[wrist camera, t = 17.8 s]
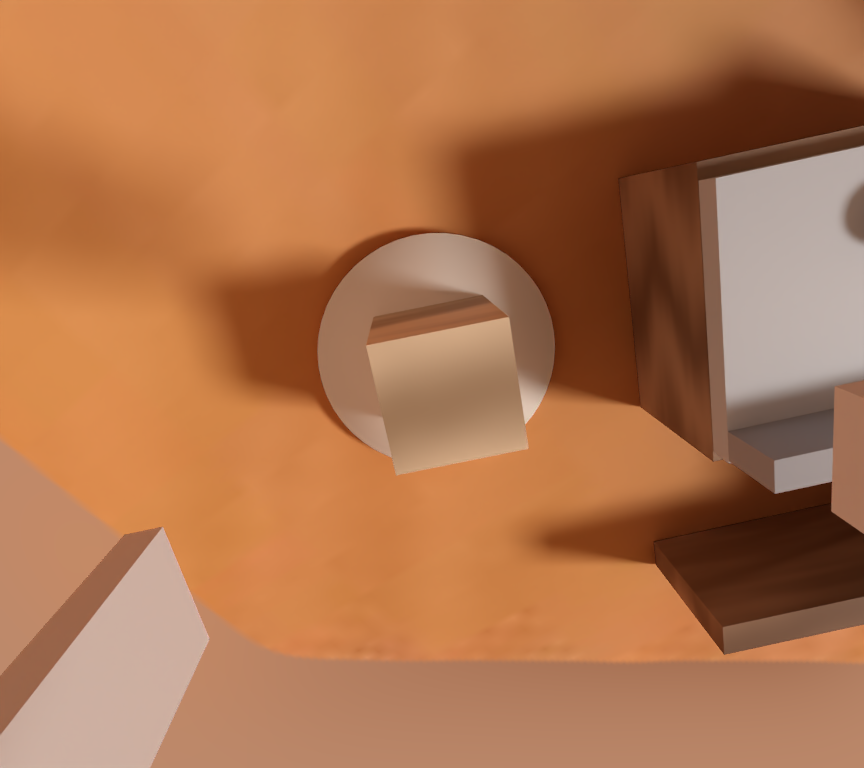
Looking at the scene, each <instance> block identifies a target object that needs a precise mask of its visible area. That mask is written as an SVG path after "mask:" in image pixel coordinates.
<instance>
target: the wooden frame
mask: <svg viewBox="0 0 864 768" xmlns="http://www.w3.org/2000/svg"><path fill="white" fill-rule="evenodd" d="M860 145H864V125H863V126H858V127H854V128H849V129H845V130H840V131H835V132H831V133H826V134H821V135H817V136H812V137H808V138H803V139H798V140H794V141H789V142H785V143H780V144H775V145H771V146H766V147H762V148H757V149H752V150H748V151H743V152H739V153H734V154H729V155H725V156H720V157H716V158H711V159H706V160H702V161H697V162H693V163H688V164H683V165H679V166H674V167H670V168H665V169H660V170H656V171H651V172H646V173H642V174H637V175H633V176H628V177H623V178H619V189H620V200H621V210H622V220H623V230H624V241H625V251H626V261H627V272H628V282H629V292H630V302H631V313H632V323H633V333H634V343H635V354H636V364H637V374H638V385H639V395H640V405H641V408H643V409H644V410H645V411H647V412H648V413H649V414H651V415H652V416H653V417H655V418H656V419H657V420H659V421H660V422H661V423H663V424H664V425H665V426H667V427H668V428H669V429H671V430H672V431H673V432H675V433H676V434H677V435H679V436H680V437H681V438H683V439H684V440H685V441H687V442H688V443H689V444H691V445H692V446H693V447H695V448H696V449H697V450H699V451H700V452H701V453H703V454H704V455H705V456H707V457H708V458H709V459H711V460H712V461H713V462H714V461H718V460H723V459H722V458H721V457H719V456H718V455H716V454H715V453H714V450H713V432H712V414H711V396H710V378H709V361H708V343H707V325H706V307H705V289H704V271H703V253H702V235H701V217H700V199H699V180H704V179H708V178H713V177H718V176H722V175H727V174H731V173H736V172H741V171H745V170H750V169H754V168H759V167H764V166H768V165H773V164H777V163H782V162H787V161H791V160H796V159H800V158H805V157H810V156H814V155H819V154H824V153H828V152H833V151H837V150H842V149H847V148H851V147H856V146H860ZM654 549H655V559H656V565H657V567H658V568H659V569H660V571H661V572H662V573H663V575H664V576H665V577H666V579H667V580H668V581H669V583H670V584H671V585H672V586H673V588H674V589H675V590H676V592H677V593H678V594H679V596H680V597H681V598H682V600H683V601H684V602H685V604H686V605H687V606H688V608H689V609H690V610H691V611H692V613H693V614H694V615H695V617H696V618H697V619H698V621H699V622H700V623H701V625H702V626H703V627H704V629H705V630H706V631H707V633H708V634H709V635H710V636H711V638H712V639H713V640H714V642H715V643H716V644H717V646H718V647H719V648H720V650H721V651H722V652H723V654H724V655H725V654H730V653H734V652H739V651H743V650H748V649H753V648H757V647H762V646H767V645H771V644H776V643H780V642H785V641H790V640H794V639H799V638H804V637H808V636H813V635H817V634H822V633H827V632H831V631H836V630H840V629H845V628H850V627H854V626H859V625H864V534H863V533H862V532H860V531H859V530H857V529H856V528H855V527H853V526H852V525H850V524H849V523H847V522H846V521H845V520H843V519H842V518H840V517H839V516H837V515H836V514H834V513H833V512H832V511H831V504H826V505H822V506H817V507H812V508H808V509H803V510H799V511H794V512H789V513H785V514H780V515H775V516H771V517H766V518H762V519H757V520H752V521H748V522H743V523H739V524H734V525H729V526H725V527H720V528H715V529H711V530H706V531H702V532H697V533H692V534H688V535H683V536H679V537H674V538H669V539H665V540H660V541H655V542H654Z"/></svg>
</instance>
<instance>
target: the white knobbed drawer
mask: <svg viewBox="0 0 864 768" xmlns="http://www.w3.org/2000/svg"><path fill="white" fill-rule="evenodd" d="M699 199H700V217H701V235H702V253H703V271H704V289H705V307H706V325H707V343H708V361H709V378H710V396H711V414H712V432H713V450H714V453H715V454H716V455H718V456H719V457H721V458H722V459H723V460H725V461H726V462H728V463H732V464H734V465H735V466H736V467H738V468H739V469H741V470H742V471H743V472H745V473H746V474H748V475H749V476H750V477H752V478H753V479H755V480H756V481H757V482H759V483H760V484H762V485H763V486H764V487H766V488H767V489H769V490H770V491H771V492H773V493H774V494H777V493H782V492H786V491H791V490H795V489H800V488H805V487H809V486H814V485H819V484H823V483H828V482H832V466H833V430H834V393H835V386H838V385H843V384H848V383H853V382H858V381H862V380H864V145H860V146H856V147H851V148H847V149H842V150H837V151H833V152H828V153H824V154H819V155H814V156H810V157H805V158H800V159H796V160H791V161H787V162H782V163H777V164H773V165H768V166H764V167H759V168H754V169H750V170H745V171H741V172H736V173H731V174H727V175H722V176H718V177H713V178H708V179H704V180H699Z"/></svg>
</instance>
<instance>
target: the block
mask: <svg viewBox="0 0 864 768" xmlns="http://www.w3.org/2000/svg"><path fill="white" fill-rule="evenodd" d="M366 348H367V352H368V357H369V361H370V365H371V369H372V374H373V378H374V382H375V387H376V391H377V395H378V400H379V404H380V408H381V413H382V417H383V421H384V425H385V430H386V434H387V438H388V443H389V447H390V451H391V456H392V460H393V464H394V469H395V473H396V475H400V474H405V473H410V472H415V471H420V470H425V469H430V468H435V467H440V466H445V465H450V464H455V463H460V462H465V461H470V460H475V459H480V458H485V457H490V456H495V455H500V454H505V453H510V452H515V451H520V450H525V449H529V448H528V441H527V434H526V427H525V421H524V414H523V407H522V400H521V394H520V387H519V380H518V374H517V367H516V360H515V353H514V347H513V340H512V333H511V326H510V320H509V316H507V315H506V314H505V313H504V312H503V311H501V310H500V309H499V308H498V307H497V306H495V305H494V304H493V303H492V302H490V301H489V300H488V299H487V298H486V297H484V296H483V295H480V296H475V297H470V298H465V299H460V300H455V301H450V302H445V303H440V304H435V305H430V306H425V307H420V308H415V309H410V310H405V311H400V312H395V313H390V314H385V315H380V316H375V317H373V321H372V325H371V328H370V332H369V336H368V340H367V343H366Z"/></svg>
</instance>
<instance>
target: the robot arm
mask: <svg viewBox="0 0 864 768" xmlns="http://www.w3.org/2000/svg"><path fill="white" fill-rule="evenodd" d="M831 511H832V512H833V513H834V514H836V515H837V516H839V517H840V518H842V519H843V520H845V521H846V522H847V523H849V524H850V525H852V526H853V527H855V528H856V529H857V530H859V531H860V532H862V533H863V534H864V380H862V381H858V382H853V383H848V384H843V385H838V386H835V393H834V430H833V466H832V503H831ZM208 641H209V636H208V634H207V632H206V629H205V627H204V624H203V622H202V620H201V617H200V615H199V612H198V610H197V608H196V605H195V603H194V600H193V598H192V596H191V593H190V591H189V588H188V586H187V584H186V581H185V579H184V576H183V574H182V572H181V569H180V567H179V564H178V562H177V560H176V557H175V555H174V552H173V550H172V548H171V545H170V543H169V540H168V538H167V536H166V533H165V531H164V529H163V527H159V528H155V529H150V530H145V531H140V532H136V533H131V534H126V535H124V536H123V537H122V538H121V539H120V540H119V542H118V543H117V544H116V545H115V546H114V547H113V548H112V550H111V551H110V552H109V553H108V554H107V555H106V556H105V557H104V559H103V560H102V561H101V562H100V563H99V564H98V565H97V567H96V568H95V569H94V570H93V571H92V572H91V573H90V575H89V576H88V577H87V578H86V579H85V580H84V581H83V582H82V584H81V585H80V586H79V587H78V588H77V589H76V590H75V592H74V593H73V594H72V595H71V596H70V597H69V599H68V600H67V601H66V602H65V603H64V604H63V605H62V606H61V608H60V609H59V610H58V611H57V612H56V613H55V614H54V615H53V617H52V618H51V619H50V620H49V621H48V622H47V623H46V625H45V626H44V627H43V628H42V629H41V630H40V631H39V632H38V634H37V635H36V636H35V637H34V638H33V639H32V641H31V642H30V643H29V644H28V645H27V646H26V647H25V648H24V650H23V651H22V652H21V653H20V654H19V655H18V656H17V658H16V659H15V660H14V661H13V662H12V663H11V664H10V665H9V667H8V668H7V669H6V670H5V671H4V672H3V673H2V675H1V676H0V768H150V767H151V764H152V762H153V760H154V758H155V756H156V754H157V752H158V749H159V747H160V745H161V743H162V741H163V738H164V736H165V734H166V732H167V730H168V728H169V726H170V723H171V721H172V719H173V717H174V715H175V713H176V710H177V708H178V706H179V704H180V701H181V700H182V697H183V695H184V693H185V691H186V689H187V687H188V684H189V682H190V680H191V678H192V676H193V674H194V671H195V669H196V667H197V665H198V663H199V660H200V658H201V656H202V654H203V652H204V649H205V648H206V646H207V643H208Z"/></svg>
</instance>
